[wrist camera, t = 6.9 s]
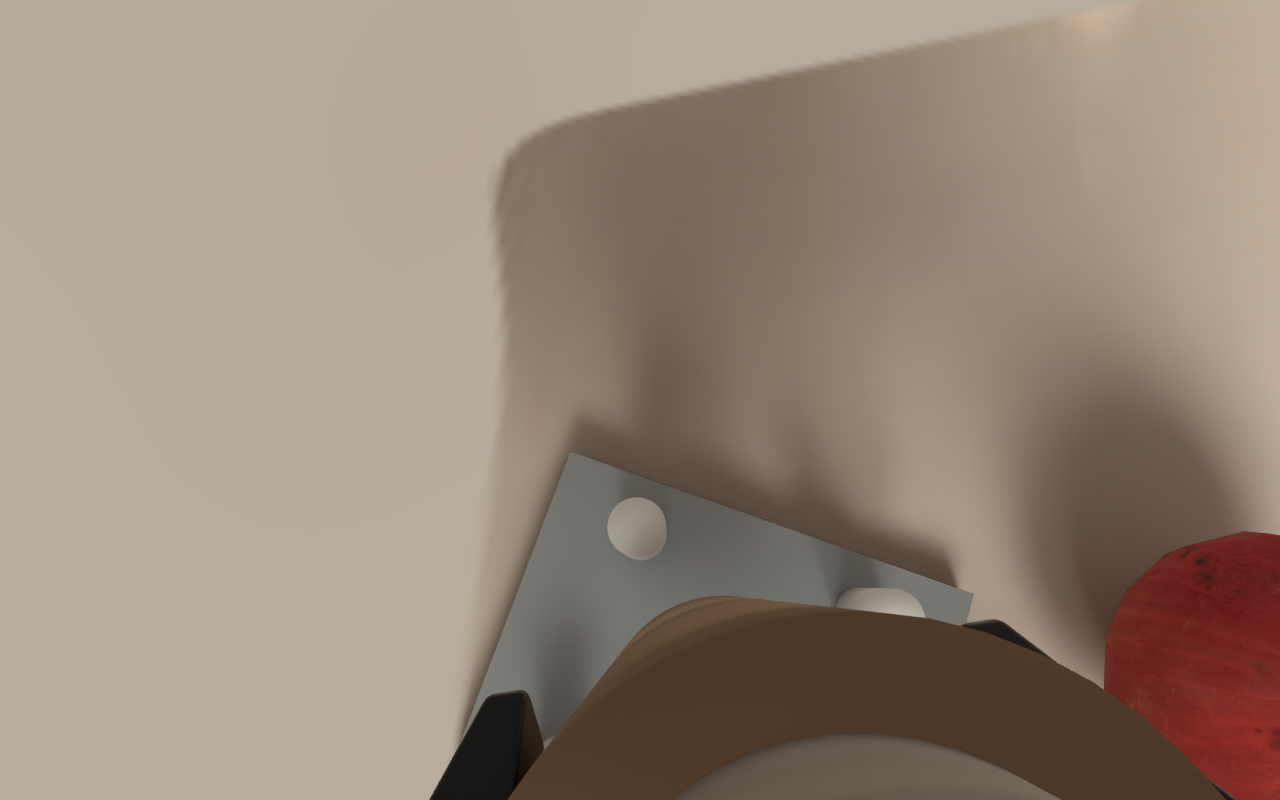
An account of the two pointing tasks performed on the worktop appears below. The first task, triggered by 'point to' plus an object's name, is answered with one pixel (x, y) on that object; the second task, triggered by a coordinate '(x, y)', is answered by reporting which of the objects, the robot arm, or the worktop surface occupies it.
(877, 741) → the pepper mill
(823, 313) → the worktop surface
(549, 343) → the worktop surface
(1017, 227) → the worktop surface
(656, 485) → the pin tray
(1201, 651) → the pomegranate
